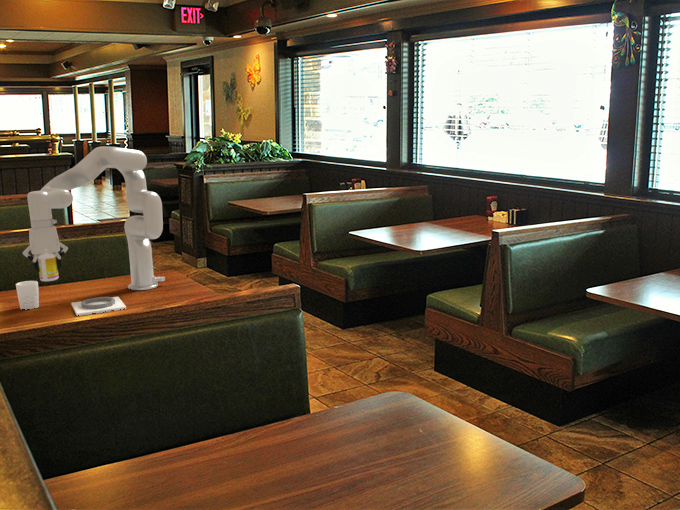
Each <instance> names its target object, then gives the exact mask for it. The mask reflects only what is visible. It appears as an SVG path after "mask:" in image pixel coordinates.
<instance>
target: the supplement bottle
mask: <svg viewBox="0 0 680 510" xmlns="http://www.w3.org/2000/svg"><path fill="white" fill-rule="evenodd" d="M44 251H45V252H46V251H48V250H47V249H45V250H44ZM56 257H57V256H56V255H55V254H54V253H47V252H46V253H44V254H41V255H38V258H37V262H38V267H39V272H38V275H39V280H40V281H41V282H54V281H57V280H59V277H60V276H59V270H58V268H57V260H56Z"/></svg>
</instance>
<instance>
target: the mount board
mask: <svg viewBox="0 0 680 510" xmlns="http://www.w3.org/2000/svg"><path fill="white" fill-rule="evenodd" d="M71 307H72V309H73V310H74V313H75V315H76V317H80V316H87V315H89V316H90V315H93V314H92V313H96V314H103V312H104V313H109V312H112V311H111V310H114V311H113V312H117V311H122V310H123V309H124V308H125V310H127V305H125V303H124V302H123V301H122V299H120V297H119V296H113V297H112V296H111V297H110V296H98V297H91V298H87V299H84V300H83V301H75V302H71ZM120 309H121V310H120ZM105 311H106V312H105ZM123 311H124V310H123ZM96 314H95V315H96ZM78 315H79V316H78Z"/></svg>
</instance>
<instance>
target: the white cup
mask: <svg viewBox="0 0 680 510" xmlns="http://www.w3.org/2000/svg"><path fill="white" fill-rule="evenodd" d="M15 288H16V293H17V300H18V303H19V309H20V310H22V309H25V310H24V311H28V310H27V309H30V310H35V309H37V308H39V307H40V304H39V303H40V302H39V301H40V299H39V296H40V293H39V282H38V281H37V280H25V281H20V282H17V283H15ZM34 308H35V309H34Z"/></svg>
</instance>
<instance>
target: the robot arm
mask: <svg viewBox="0 0 680 510" xmlns="http://www.w3.org/2000/svg"><path fill="white" fill-rule="evenodd" d="M147 163H148V159H147V156H146V154H145V153H144V152H143V151H142V150H139V149H138V150H137V149H130V148H126V147H125V148H124V147H118V146H98V147H95V148H93V150H91V152H89V153H88V154H87V155H85V157H83V159H81V160H80V161H78V163H76V164H75V165H74V166H73V167H72V168H69V169H68V170H65V171H64V172H62V173H61V174H59V175H57V176H55V177H53V178H52V179H50V180H49V181H48V182H47V183H45V185H44V186H42V187H41V189H40V190H34V191H30V192H28V193H27V195H26V196H27V205H28V211H29V218H30V226H31V228H29V229H28V231H29V233H28V234H29V235H28V236H29V237H28V238H29V239H28V240H29V245H28V246H27V247H26V248H25V249H24V250H23V251H22V255H23V256H24V257H26V258H27V259H28V260H29V261H31V262H32V263H33V268H34V271H36V273H38V274H39V267H38V262H37V258H38V255H41V254H44V253H46V252H47V253H54V254H55V255H56V260H57V268H58V271H61V267H62V261H61V259H62V257H63V256H64V255H65V254H66V253H67V251H68V250H69V247H68V246H67V245H65V244H63V243H62V242H61V241H60V239H59V234H58V231H57V227H56V226H55V225H54V224H57V223H58V220H57V219H53V214H52V209H65V208H67V207H69V206H70V205H71V204H72V203H73V200H74V196H73V194H72V193H71V191H72V190H73V189H76V188H77V189H78V188H81V187H84V186H87V185H89V184H91V183H92V182H93V181H94V180H96V179H97V177H99V175H100V174H102V172H104V171H105V170H106V169H117V170H118V171H119V172H120V174H122V175H121V176H123V178H124V181H125V183H124V184H125V196H126V197H125V198H126V207H127V209H128V210H129V211H130V212H133V213H138V214H142V215H131V216H130V217H127V218H126V220H125V222H124V226H123V228H124V233H125V236H126V240H127V244H128V245H127V246H128V257H129V269H130V280H131V281H130V283H129V284H128V285H127V288H128V289H129V290H130V289H131V291H145V290H152V289H155V288H157V287H158V286H159V283H158V282H165V280H166V277H165V276H155V275H154V263H153V251H152V250H153V249H152V244H151V240H156V239H158V238H160V236H161V235H162V233H163V230H164V227H163V226H164V221H163V217H164V216H163V203H162V199H161V197H160V195H159V194H158V193H157V192H154V191H152V190H151V191H150V190H148V188H147V180H146V175H145V173H144V169H145V168H146V167H147ZM61 248H62V249H61ZM45 249H47V250H48V251H46V252H45V251H44V250H45ZM60 251H61V252H60ZM29 253H31V254H32V255H30V254H29Z"/></svg>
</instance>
